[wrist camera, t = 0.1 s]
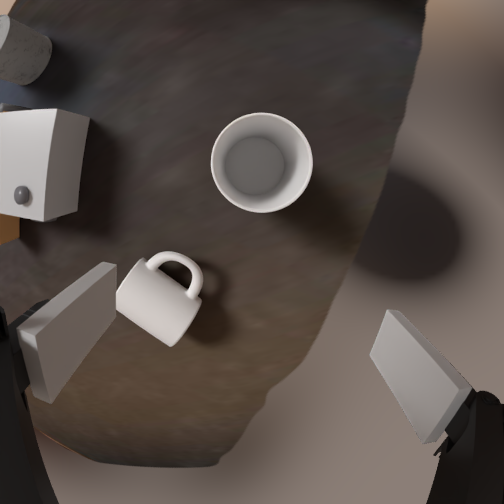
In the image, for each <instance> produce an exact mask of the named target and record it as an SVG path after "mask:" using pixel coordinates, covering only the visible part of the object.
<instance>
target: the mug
mask: <svg viewBox="0 0 504 504" xmlns="http://www.w3.org/2000/svg"><path fill="white" fill-rule="evenodd" d="M170 260H173V261H178V262H180V263H182V264H184V265H185V266H187V267H188V268H189V269H190V270H191V272H192V282H191V285H190V287H189V289H186V288H185V287H183V286H182V285H181V284H179V283H178V282H176V281H175V280H173V279H172V278H171V277H169V276H168V275H166V274H165V273H164V272H162V271H161V270H160V269H158V267H159V266H160V265H161V264H162V263H164V262H166V261H170ZM202 284H203V274H202V271H201V269H200V268H199V266H198V265H197V264H196V263H195V262H194V261H193V260H191V259H190V258H188V257H187V256H185V255H183V254H180V253H177V252H171V251H166V252H161V253H158V254H156V255H155V256H153V257H152V258H151V259H150V260H149V261H147V260H146V259H145V258H142V259H140V260H139V261H138V262H137V263H136V264H135V266H134V267H133V268H132V269H131V271H130V272H129V273H128V275H127V276H126V278H125V279H124V280H123V282H122V283H121V285H120V287H119V288H118V290H117V292H116V310H118V311H119V312H120V313H122V314H123V315H124V316H126V317H127V318H129V319H130V320H131V321H133V322H134V323H136V324H137V325H139V326H140V327H141V328H143V329H144V330H146V331H147V332H149V333H150V334H152V335H153V336H155V337H156V338H158V339H159V340H161V341H162V342H164V343H165V344H167V345H168V346H170V347H172V346H174V345H175V344H176V343H177V342H178V341H179V340H180V338H181V337H182V336H183V334H184V333H185V332H186V330H187V329H188V327H189V326H190V324H191V323H192V321H193V319H194V318H195V316H196V314H197V312H198V310H199V308H200V306H201V303H202V300H201V298H199V297H198V294H199V292H200V290H201V288H202Z"/></svg>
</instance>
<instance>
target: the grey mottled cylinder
mask: <svg viewBox="0 0 504 504" xmlns="http://www.w3.org/2000/svg"><path fill="white" fill-rule="evenodd" d="M51 53H52V43H51V40H50V39H49V38H48V37H46V36H43V35H41V34H40V33H38V32H36V31H34V30H32V29H31V28H29V27H27V26H25V25H23V24H21V23H19V22H18V21H16V20H14V19H12V18H10V17H9V16H7V15H0V79H2V80H6V81H9V82H13V83H16V84H18V85H27V84H29V83H31V82H33V81H34V80H35V79H36V78H38V77H39V76H40V74H41V73H42V72H43V71H44V69H45V68H46V66H47V64H48V62H49V60H50V57H51Z"/></svg>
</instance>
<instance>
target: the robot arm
mask: <svg viewBox="0 0 504 504" xmlns="http://www.w3.org/2000/svg"><path fill="white" fill-rule="evenodd" d="M116 274H117V265H116V264H111V263H106V262H101V263H100V264H99V265H97V266H96V267H94V268H93V269H92V270H90V271H89V272H88V273H86V274H85V275H83V276H82V277H81V278H79V279H78V280H77V281H75V282H74V283H73V284H71V285H70V286H69V287H67V288H66V289H65V290H63V291H62V292H61V293H59V294H58V295H57V296H56V297H54V298H53V299H52V300H48V299H47V300H44V301H41V302H39V303H36V304H35V305H34V306H32V307H31V308H30V309H29V310H27V311H26V312H25V313H23V315H21V316H19V317H18V318H17V319H16V320H14V321H13V322H12V323H11V324H9V325H8V326H7V321H6V316H5V311H4V309H3V308H2V307H1V306H0V504H59V503H58V500H57V498H56V496H55V493H54V490H53V488H52V486H51V483H50V480H49V477H48V475H47V472H46V469H45V466H44V463H43V460H42V457H41V453H40V450H39V447H38V443H37V440H36V436H35V432H34V428H33V424H32V420H31V416H30V411H29V407H28V402H27V397H26V394H25V391H24V390H25V389H26V388H27V387H28V385H29V384H30V386H31V389H32V392H33V395H34V397H36V398H39V399H41V400H43V401H45V402H47V403H50V404H52V402H53V401H54V400H55V398H56V397H57V395H58V394H59V392H60V391H61V390H62V388H63V387H64V385H65V384H66V383H67V381H68V380H69V378H70V377H71V376H72V374H73V373H74V371H75V370H76V369H77V367H78V366H79V365H80V363H81V362H82V361H83V359H84V358H85V357H86V355H87V354H88V353H89V351H90V350H91V349H92V347H93V346H94V345H95V343H96V342H97V341H98V339H99V338H100V337H101V336H102V334H103V333H104V332H105V330H106V329H107V328H108V327H109V325H110V324H111V323H112V322H113V320H114V319H115V318H116ZM370 357H371V359H372V360H373V362H374V364H375V365H376V367H377V368H378V370H379V372H380V373H381V375H382V376H383V378H384V379H385V381H386V383H387V385H388V386H389V388H390V390H391V391H392V392H393V395H394V396H395V398H396V400H397V401H398V403H399V405H400V406H401V408H402V410H403V411H404V413H405V415H406V416H407V418H408V420H409V422H410V423H411V425H412V427H413V428H414V430H415V432H416V434H417V435H418V437H419V439H420V440H421V442H422V444H426V443H431V442H436V441H437V440H438V439H439V437H440V436H441V434H442V433H443V432H444V431H446V433H447V434H448V437H447V438H446V439H445V440H444V442H443V443H442V444H441V446H440V447H439V448H438V449H437V451H436V452H435V453H434V456H436V455H437V454H438V453H439V452H441V455H440V456H439V458H440V459H439V463H438V467H437V471H436V474H435V477H434V481H433V484H432V488H431V491H430V494H429V497H428V500H427V503H426V504H504V404H501V403H500V401H499V399H498V398H497V397H496V396H495V395H493V394H492V393H489V392H487V391H479V392H476V391H475V390H474V389H473V388H472V386H471V385H470V384H469V383H468V382H467V381H466V380H465V379H464V377H463V376H461V374H460V373H459V372H458V371H457V370H456V369H455V368H454V367H453V365H452V364H451V363H449V362H448V361H447V359H446V358H445V357H444V356H443V355H442V354H441V353H440V352H439V351H438V350H437V349H436V348H435V347H434V346H433V345H432V344H431V343H430V341H428V340H427V338H426V337H425V336H424V335H423V334H421V332H420V331H419V330H418V329H417V328H416V327H415V326H414V325H413V324H412V323H411V322H410V321H409V320H408V319H407V318H406V317H405V316H404V315H403V314H402V313H401V312H400V311H398V310H389V309H387V311H386V314H385V317H384V319H383V322H382V324H381V327H380V330H379V332H378V335H377V338H376V340H375V343H374V345H373V347H372V350H371V352H370Z"/></svg>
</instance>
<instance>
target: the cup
mask: <svg viewBox="0 0 504 504" xmlns="http://www.w3.org/2000/svg"><path fill="white" fill-rule="evenodd" d="M312 167H313V159H312V153H311V149H310V146H309V143H308V141H307V139H306V138H305V136H304V135H303V133H302V132H301V131H300V130H299V128H297V127H296V126H295V125H294V124H293V123H292V122H290V121H288V120H287V119H285V118H283V117H280V116H278V115H274V114H269V113H253V114H249V115H245V116H243V117H240V118H238V119H236V120H234V121H233V122H232V123H230V124H229V125H228V126H227V127H226V128H225V129H224V130H223V131H222V132H221V133H220V135H219V136H218V138H217V140H216V142H215V144H214V147H213V150H212V155H211V170H212V175H213V178H214V181H215V183H216V185H217V187H218V189H219V190H220V192H221V193H222V194H223V195H224V196H225V197H226V198H227V199H228V200H229V201H230V202H231V203H233V204H234V205H236V206H238V207H240V208H242V209H245V210H248V211H252V212H260V213H264V212H272V211H277V210H280V209H282V208H284V207H286V206H288V205H290V204H291V203H293V202H294V201H295V200H296V199H297V198H298V197H299V196H300V195H301V194H302V193H303V192H304V190H305V188H306V187H307V185H308V183H309V180H310V177H311V174H312Z"/></svg>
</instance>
